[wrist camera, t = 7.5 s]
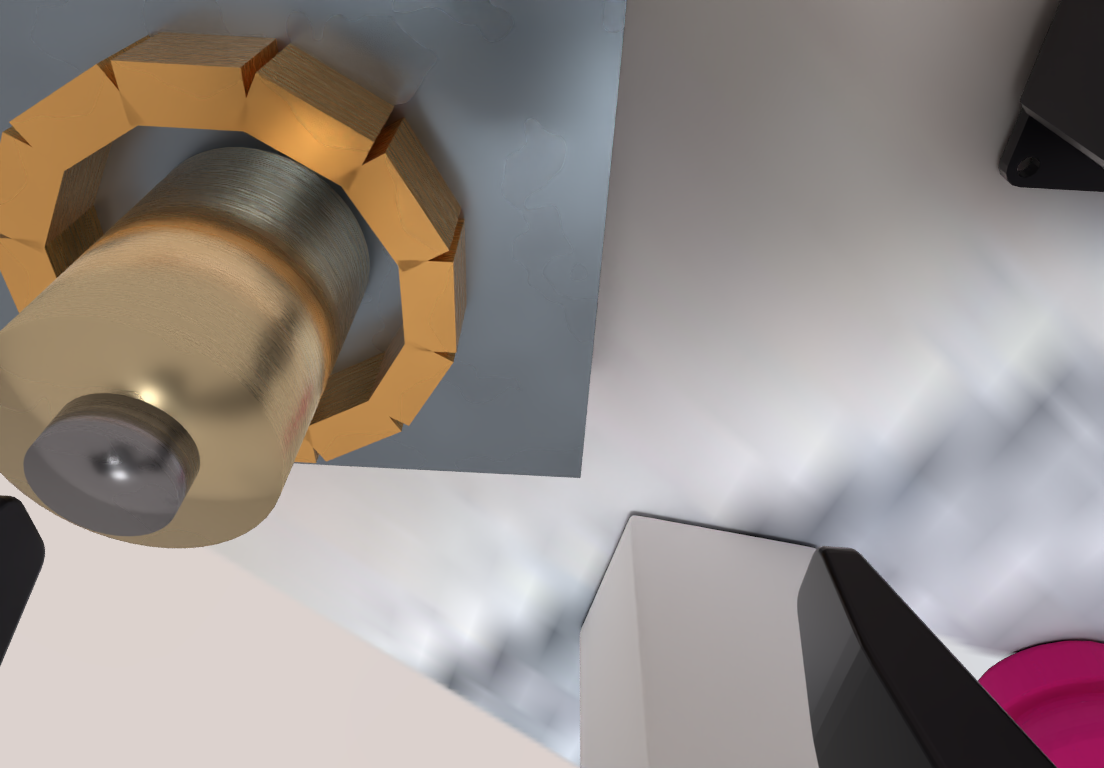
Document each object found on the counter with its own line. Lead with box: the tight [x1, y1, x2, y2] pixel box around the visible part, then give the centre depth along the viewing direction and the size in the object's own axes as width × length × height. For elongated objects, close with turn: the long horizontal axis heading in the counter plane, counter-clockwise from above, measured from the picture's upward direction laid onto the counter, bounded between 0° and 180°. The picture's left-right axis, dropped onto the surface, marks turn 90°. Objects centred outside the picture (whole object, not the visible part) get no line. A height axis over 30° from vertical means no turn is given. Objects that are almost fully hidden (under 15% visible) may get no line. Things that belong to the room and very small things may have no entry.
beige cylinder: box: [0, 147, 370, 548], centre depth 13 cm, size 4×4×7 cm
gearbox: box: [0, 0, 627, 478], centre depth 17 cm, size 17×12×6 cm
